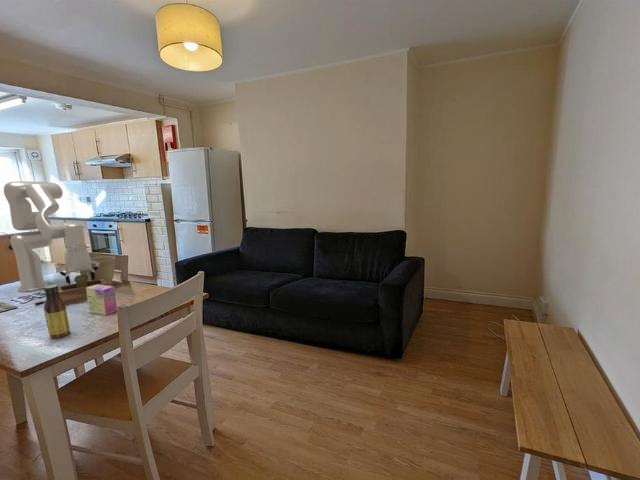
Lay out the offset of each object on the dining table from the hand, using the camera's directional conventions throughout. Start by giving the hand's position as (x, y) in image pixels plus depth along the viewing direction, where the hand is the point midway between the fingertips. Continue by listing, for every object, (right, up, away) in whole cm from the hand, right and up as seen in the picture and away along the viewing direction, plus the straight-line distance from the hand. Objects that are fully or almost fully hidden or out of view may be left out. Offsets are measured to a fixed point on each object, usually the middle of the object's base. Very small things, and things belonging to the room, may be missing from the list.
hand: (81, 281), depth 159 cm
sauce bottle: (+21, -16, -38) cm, 46 cm away
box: (+22, -12, -16) cm, 30 cm away
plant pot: (-3, -6, +20) cm, 21 cm away
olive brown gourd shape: (0, -8, +1) cm, 8 cm away
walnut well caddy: (0, -9, +1) cm, 9 cm away
